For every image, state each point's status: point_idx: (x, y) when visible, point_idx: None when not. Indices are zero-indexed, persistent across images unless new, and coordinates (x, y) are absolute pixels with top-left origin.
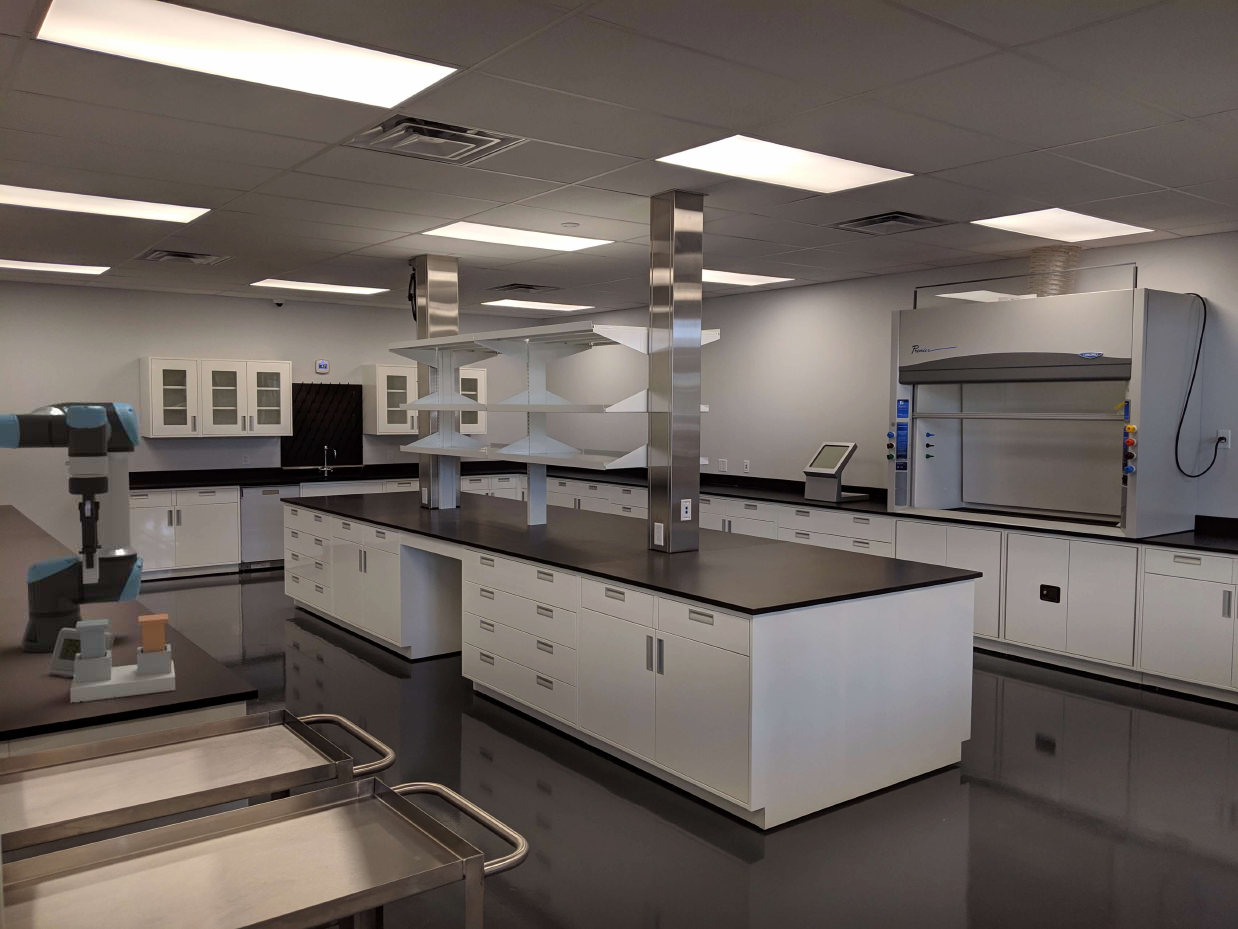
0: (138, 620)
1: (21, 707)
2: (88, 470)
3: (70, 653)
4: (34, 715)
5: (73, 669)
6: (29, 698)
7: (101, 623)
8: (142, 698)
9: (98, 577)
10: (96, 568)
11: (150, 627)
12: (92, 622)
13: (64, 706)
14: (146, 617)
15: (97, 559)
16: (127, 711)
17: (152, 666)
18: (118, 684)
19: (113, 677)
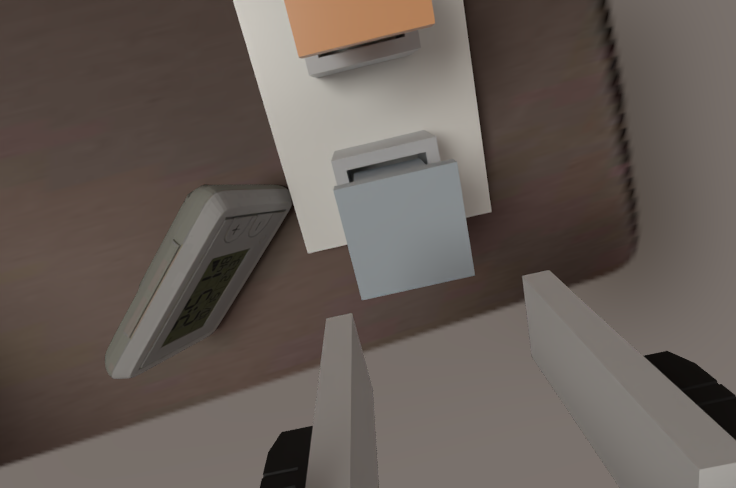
0: (411, 28)
1: (478, 297)
2: None
3: (208, 303)
4: (553, 251)
5: (247, 271)
6: (409, 304)
7: (431, 192)
8: (499, 21)
9: (351, 319)
10: (615, 334)
11: None
12: (398, 236)
13: (503, 208)
14: (343, 1)
15: (353, 431)
16: (611, 34)
17: None
18: (474, 95)
19: (402, 128)
